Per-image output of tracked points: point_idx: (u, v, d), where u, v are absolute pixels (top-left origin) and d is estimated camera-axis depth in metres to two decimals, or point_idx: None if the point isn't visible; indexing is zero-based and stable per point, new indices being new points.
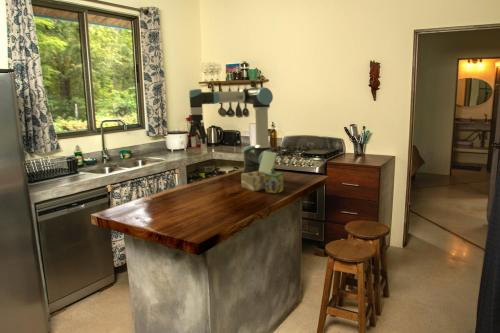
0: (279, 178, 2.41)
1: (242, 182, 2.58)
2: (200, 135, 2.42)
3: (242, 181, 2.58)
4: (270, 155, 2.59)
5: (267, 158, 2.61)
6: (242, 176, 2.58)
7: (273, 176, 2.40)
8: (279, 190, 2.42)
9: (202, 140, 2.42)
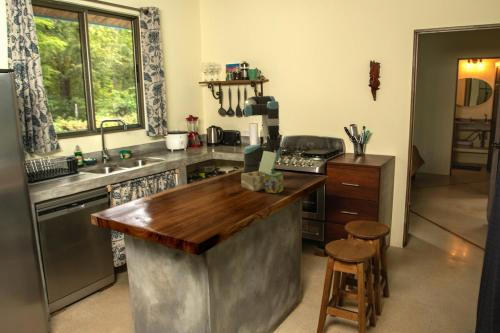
0: (279, 178, 2.41)
1: (242, 182, 2.58)
2: None
3: (242, 181, 2.58)
4: (270, 155, 2.59)
5: (267, 158, 2.61)
6: (242, 176, 2.58)
7: (273, 176, 2.40)
8: (279, 190, 2.42)
9: None
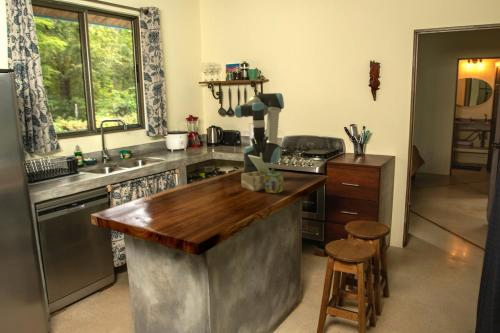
0: (279, 178, 2.41)
1: (242, 182, 2.58)
2: None
3: (242, 181, 2.58)
4: (256, 159, 2.53)
5: (256, 162, 2.56)
6: (242, 176, 2.58)
7: (273, 176, 2.40)
8: (279, 190, 2.42)
9: None
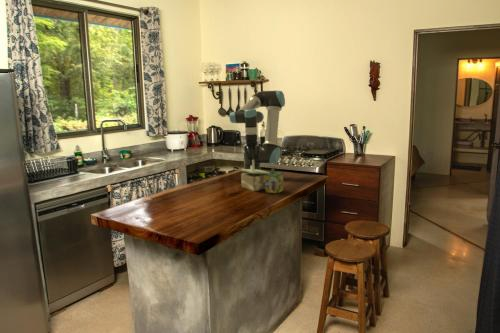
0: (279, 178, 2.41)
1: (242, 182, 2.58)
2: None
3: (242, 181, 2.58)
4: None
5: None
6: (242, 176, 2.58)
7: (273, 176, 2.40)
8: (279, 190, 2.42)
9: None
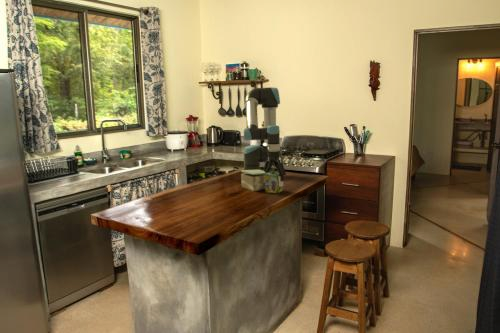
0: None
1: (242, 182, 2.58)
2: (278, 172, 2.38)
3: (242, 181, 2.58)
4: None
5: (252, 172, 2.56)
6: (242, 176, 2.58)
7: (273, 176, 2.40)
8: (279, 190, 2.42)
9: (281, 177, 2.38)
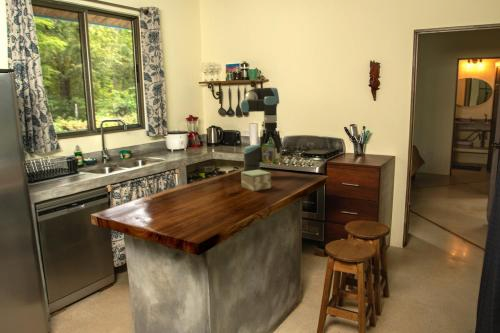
0: None
1: (242, 182, 2.58)
2: (275, 144, 2.37)
3: (242, 181, 2.58)
4: None
5: None
6: (242, 176, 2.58)
7: (270, 146, 2.39)
8: (276, 160, 2.40)
9: (277, 149, 2.37)
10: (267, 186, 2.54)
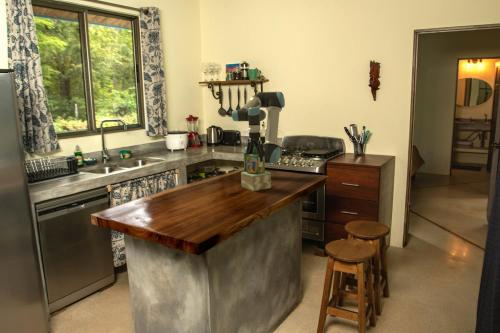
0: None
1: (242, 182, 2.58)
2: (258, 153, 2.49)
3: (242, 181, 2.58)
4: None
5: None
6: (242, 176, 2.58)
7: (253, 157, 2.50)
8: (259, 170, 2.51)
9: (260, 158, 2.49)
10: (267, 186, 2.54)
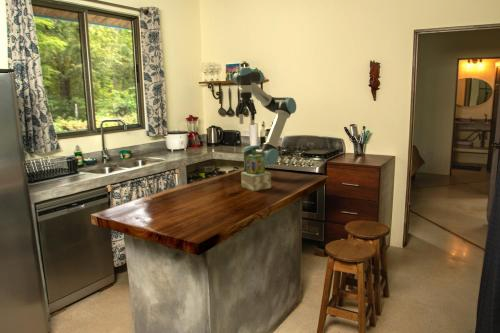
0: (259, 159, 2.51)
1: (242, 182, 2.58)
2: (250, 111, 2.54)
3: (242, 181, 2.58)
4: None
5: None
6: (242, 176, 2.58)
7: (253, 157, 2.50)
8: (259, 171, 2.52)
9: (252, 116, 2.54)
10: (267, 186, 2.54)
